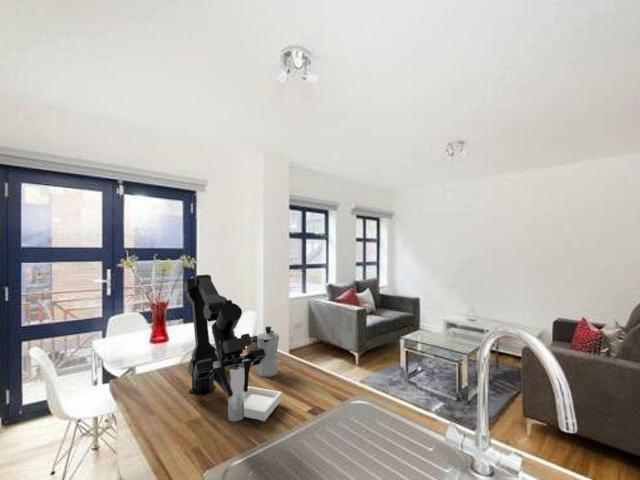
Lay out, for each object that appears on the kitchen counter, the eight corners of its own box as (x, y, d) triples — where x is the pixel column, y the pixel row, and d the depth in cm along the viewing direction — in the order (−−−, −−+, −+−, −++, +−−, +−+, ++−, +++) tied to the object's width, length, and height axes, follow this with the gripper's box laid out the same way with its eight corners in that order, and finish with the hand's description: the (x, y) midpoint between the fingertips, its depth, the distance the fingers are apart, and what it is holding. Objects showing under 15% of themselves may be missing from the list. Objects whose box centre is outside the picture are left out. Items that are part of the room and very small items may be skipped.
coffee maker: (276, 379, 118) (276, 332, 118) (253, 379, 118) (253, 331, 118) (281, 363, 133) (282, 321, 133) (261, 362, 133) (261, 320, 133)
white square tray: (228, 418, 93) (228, 404, 93) (248, 398, 105) (248, 386, 105) (264, 426, 90) (264, 412, 90) (281, 404, 101) (281, 391, 101)
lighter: (247, 360, 135) (247, 337, 135) (245, 358, 138) (245, 335, 138) (265, 357, 139) (265, 335, 138) (263, 354, 142) (263, 332, 142)
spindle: (225, 419, 81) (225, 369, 81) (233, 411, 85) (234, 363, 85) (239, 422, 80) (239, 372, 80) (247, 413, 84) (247, 365, 84)
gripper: (195, 330, 80) (207, 392, 71) (263, 319, 90) (281, 372, 82) (188, 351, 86) (198, 409, 78) (252, 338, 97) (267, 389, 88)
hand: (238, 394), depth 81 cm, fingers closed on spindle, 4 cm apart
